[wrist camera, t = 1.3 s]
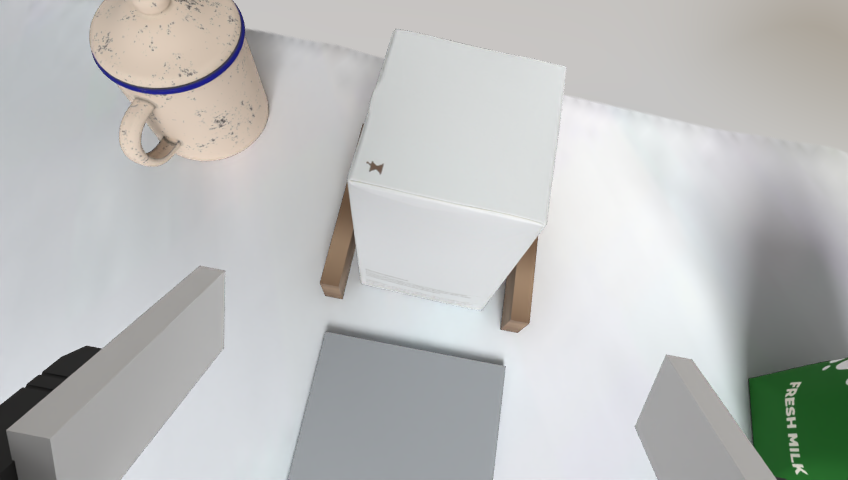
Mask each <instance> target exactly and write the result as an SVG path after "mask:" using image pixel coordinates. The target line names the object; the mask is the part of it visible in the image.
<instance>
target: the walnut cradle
mask: <svg viewBox="0 0 848 480" xmlns="http://www.w3.org/2000/svg"><path fill="white" fill-rule="evenodd" d="M363 126H364V124H363V125H362V129H363ZM362 129H361V132H362ZM361 132H360V136H361ZM360 136H359V139H360ZM358 142H359V140H358ZM357 145H358V144H357ZM356 148H357V147H356ZM537 241H538V236H537V238H536V239H535V240H534V242H533V243H532V245H531V246H530V247H529V249H528V250H527V251H526V252H525V254H524V255H523V256H522V258H521V259H520V260H519V262H518V263H517V264H516V266H515V267H514V268H513V270H512V271H511V272H510V274H509V275H508V276H507V279H506V288H505V296H504V304H503V313H502V321H501V330H506V331H511V332H516V333H518V332H519V331H521V330H522V329H523V328H524V327H526V326H527V325H528V324H529V323H530V312H531V302H532V292H533V282H534V272H535V261H536V251H537ZM355 247H356V244H355V236H354V229H353V220H352V213H351V206H350V198H349V190H348V183H347V184H346V188H345V192H344V195H343V199H342V203H341V207H340V210H339V214H338V218H337V221H336V225H335V229H334V233H333V236H332V240H331V244H330V247H329V251H328V255H327V258H326V262H325V266H324V270H323V273H322V277H321V281H320V285H321V287H322V289H323V292H324V294H325V296H329V297H334V298H339V299H343V295H344V291H345V287H346V283H347V279H348V275H349V271H350V267H351V263H352V259H353V255H354V251H355Z"/></svg>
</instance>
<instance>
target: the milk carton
mask: <svg viewBox="0 0 848 480" xmlns="http://www.w3.org/2000/svg"><path fill="white" fill-rule="evenodd" d="M749 388H750V402H751V415H752V429H753V442H754V448H755V449H756V451H757V452H758V454H759V455H760V456H761V458H762V459H763V461H764V462H765V464H766V465H767V466H768V468H769V469H770V471H771V472H772V473H773V475H774V476H775V477H780V478H785V479H787V480H848V358H843V359H837V360H832V361H826V362H820V363H815V364H811V365H806V366H802V367H798V368H793V369H789V370H785V371H780V372H776V373H772V374H767V375H763V376H759V377H754V378H749Z"/></svg>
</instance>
